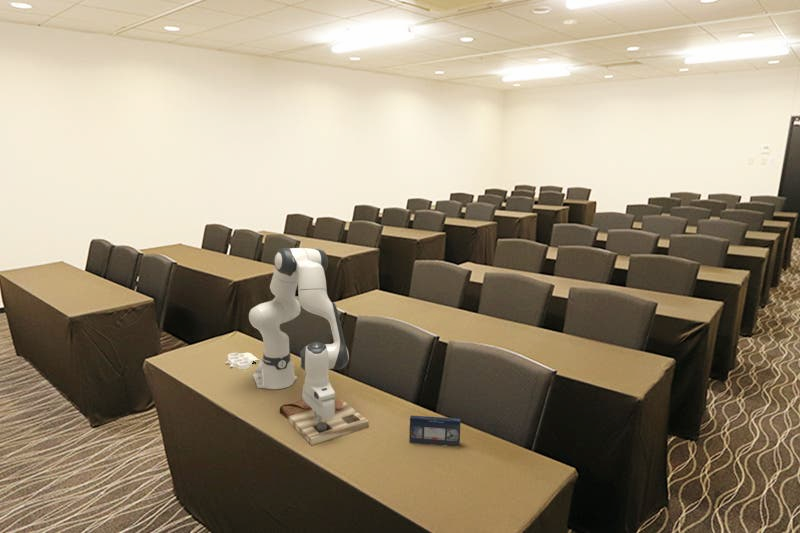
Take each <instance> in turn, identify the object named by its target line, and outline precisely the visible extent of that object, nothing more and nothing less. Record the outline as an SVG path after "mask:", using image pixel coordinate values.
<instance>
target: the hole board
mask: <svg viewBox="0 0 800 533" xmlns="http://www.w3.org/2000/svg"><path fill="white" fill-rule="evenodd" d="M342 401H343V407H342V408H341V409H336V408H335V412H334V417H333V418H332V419H329V420H324V419H323V418H322V421H321V422H324V423H326V425H327V430H326V431H324V432H321V433H319V432H318V431H317V429H316V426H317V424H318V423H320V422H317V421H316V420H315V419H314V414H313V411H312V410H309V411H305V412H302V413H298V414H295V415H291V416H289V419H288V422H289V424H290V425H291V426H292V427H293V428H294V429H295V430H296V431H297V433H299V434H300V435H301V436H302V437H303V439H304V440H306V442H307V443H309V445H310V446H314V445H317V444H320V443H323V442H326V441H329V440H332V439H335V438H338V437H342V436H344V435H348V434H351V433H354V432H357V431H360V430H363V429H366V428H369V423H370V421H369V420H368V419H367V418H366V417H364V416H363V415H362V414H361V413H359V412H358V411H357V410H356V409H354V408H353V407H352V406H350V405H349V404H348V403H347V402H346V401H345V400H342Z"/></svg>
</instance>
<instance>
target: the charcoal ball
mask: <svg viewBox="0 0 800 533" xmlns="http://www.w3.org/2000/svg"><path fill="white" fill-rule="evenodd" d="M316 429H317V431H318V432H319V433H321V432H324V431H326V430H327V425H326V423H324V422H320V423H318V424H317V426H316Z"/></svg>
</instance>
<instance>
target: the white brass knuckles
mask: <svg viewBox="0 0 800 533" xmlns="http://www.w3.org/2000/svg"><path fill="white" fill-rule="evenodd" d="M226 358H227V361H225V363H224V364H228V363H229V364H231V365H229V364H228V366H229V367H230V368H231V367H237V368H238V369H247V368H249V367H250V365H252V363H254V362H253V361H255V360H257V361H258V362H259V363H261V362H262V361H261V360H260V359H259V358H257V357H256V356H255V355H254V354H253V353H251V352H243V353H239V352H231V353H228V354H227V357H226ZM250 368H251V367H250ZM238 369H237V370H238Z"/></svg>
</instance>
